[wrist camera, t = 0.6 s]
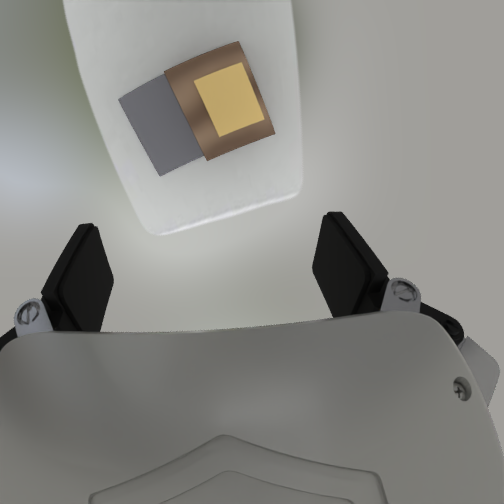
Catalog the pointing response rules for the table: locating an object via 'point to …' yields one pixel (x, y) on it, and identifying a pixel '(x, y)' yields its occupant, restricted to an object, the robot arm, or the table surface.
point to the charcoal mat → (161, 125)
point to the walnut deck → (195, 108)
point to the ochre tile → (229, 99)
